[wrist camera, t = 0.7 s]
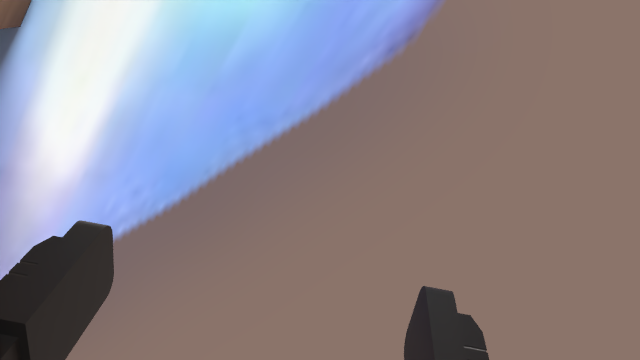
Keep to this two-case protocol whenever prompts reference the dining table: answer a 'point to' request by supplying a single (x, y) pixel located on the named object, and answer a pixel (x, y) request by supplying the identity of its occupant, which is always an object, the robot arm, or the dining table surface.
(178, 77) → the dining table surface
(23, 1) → the pillar
